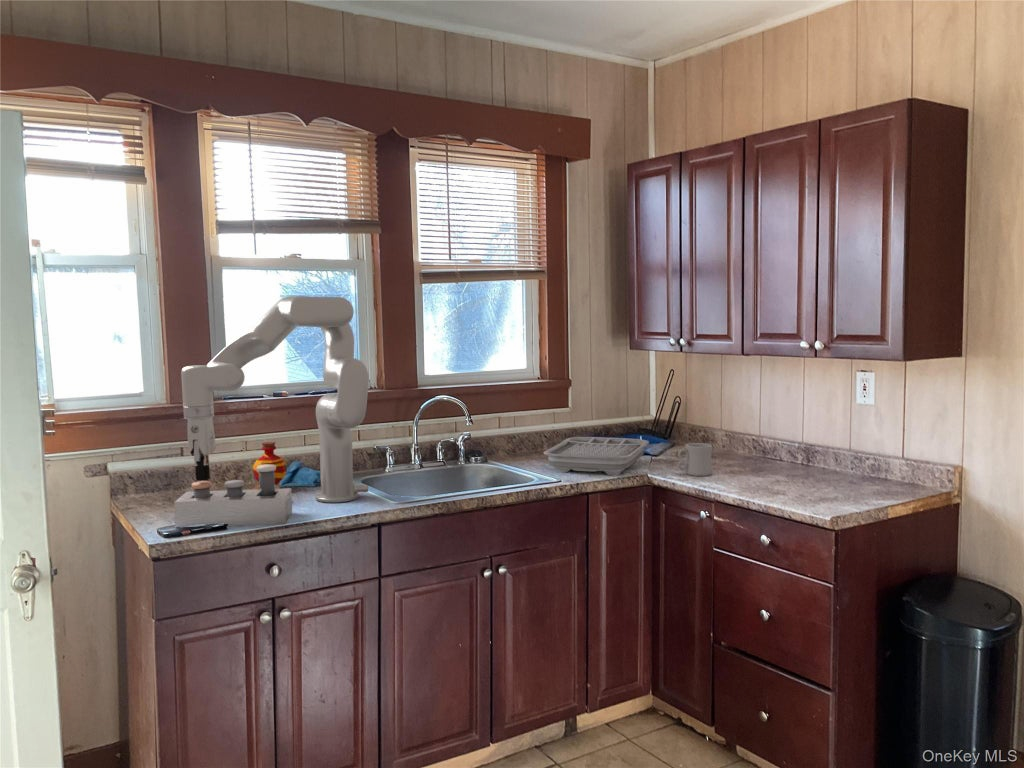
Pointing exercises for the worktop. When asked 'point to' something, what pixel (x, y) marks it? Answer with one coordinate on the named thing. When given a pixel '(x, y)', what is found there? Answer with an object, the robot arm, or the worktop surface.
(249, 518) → the mount
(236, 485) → the knob mid
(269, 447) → the potion bottle
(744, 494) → the worktop surface
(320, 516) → the worktop surface
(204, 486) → the knob
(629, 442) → the dish rack
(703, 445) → the mug
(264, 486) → the knob
